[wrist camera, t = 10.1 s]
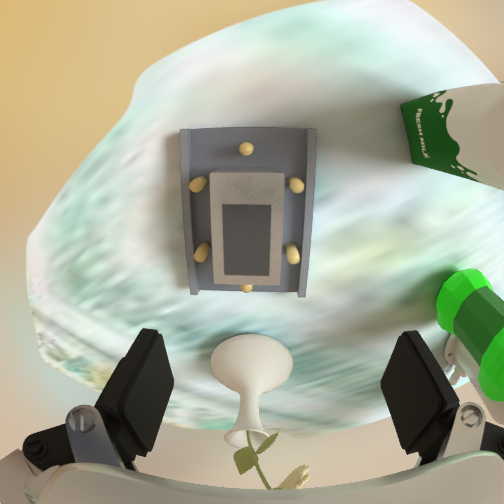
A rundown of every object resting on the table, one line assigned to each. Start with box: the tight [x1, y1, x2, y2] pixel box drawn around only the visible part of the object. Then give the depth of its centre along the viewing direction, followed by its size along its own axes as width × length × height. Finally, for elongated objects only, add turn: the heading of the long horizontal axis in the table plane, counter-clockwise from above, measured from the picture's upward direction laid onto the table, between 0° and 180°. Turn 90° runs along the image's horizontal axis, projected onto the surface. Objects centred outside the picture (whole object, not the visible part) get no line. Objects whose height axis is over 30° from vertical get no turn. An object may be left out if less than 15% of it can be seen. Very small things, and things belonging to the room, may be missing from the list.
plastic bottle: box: [436, 269, 504, 402], centre depth 20 cm, size 10×10×25 cm
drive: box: [210, 167, 285, 286], centre depth 25 cm, size 10×6×6 cm, turn 0°
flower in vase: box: [210, 334, 310, 490], centre depth 25 cm, size 13×11×25 cm
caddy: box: [180, 127, 316, 297], centre depth 27 cm, size 18×13×4 cm
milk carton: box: [400, 81, 504, 190], centre depth 15 cm, size 9×9×20 cm
